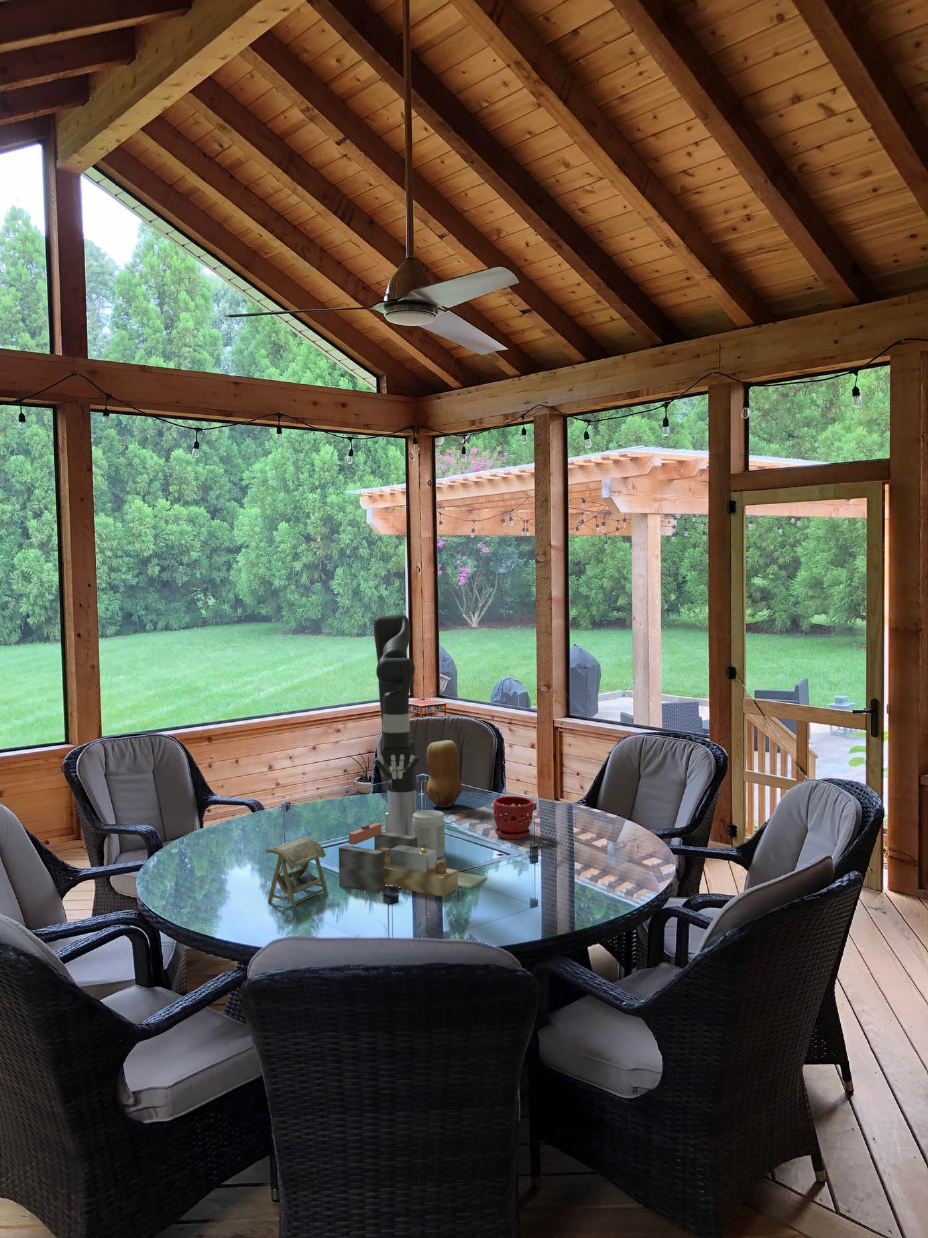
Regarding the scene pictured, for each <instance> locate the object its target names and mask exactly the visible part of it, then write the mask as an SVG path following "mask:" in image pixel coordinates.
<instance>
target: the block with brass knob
mask: <svg viewBox="0 0 928 1238" xmlns="http://www.w3.org/2000/svg"><path fill="white" fill-rule="evenodd" d="M435 861H436V850H429V849H427V848H417V847H410V846H404V845H399V846H396V847H394V848H392V849H390V867H393V868H398V869H404V870H410V871H416V872H422V873H428V872H430V871H432V870H434V869H435Z"/></svg>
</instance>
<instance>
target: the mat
mask: <svg viewBox="0 0 928 1238" xmlns="http://www.w3.org/2000/svg"><path fill="white" fill-rule="evenodd" d="M487 878H488V877H487V876H484V875H478V874H473V873H467V872H461V871H458V888H463V889H469V890H470V889H471V888H474V887H475V886H477V885H479V884H480V883H482V882H484V881H486V880H487Z"/></svg>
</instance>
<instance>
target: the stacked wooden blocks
mask: <svg viewBox="0 0 928 1238" xmlns="http://www.w3.org/2000/svg"><path fill="white" fill-rule="evenodd" d="M373 839H374V841H373V842H374V844H373V845H374V849H373V848H366V847H358V846H355V845H349V844H344V845H342V846H339V847H338V886H339V887H343V888H349V889H354V890H359V891H364V892H365V891H366V892H369V893H375V894H378V893H381V892H382V890H383V889H384V890H385V886H384V885H386V884H387V885H393V886H398V887H400V888H401V889H400V890H404V891H405V890H406V891H411V892H416V893H420V894H428V895H432V896H437V897H445V896H447V895H448V894H450V893H452V892H454V891H456V890H457V889H459V887H458V872H459V870H458V869H453V868H447V861H446V859H445V860H437V861H435V869H434V870H432V871H430V872H428V873H422V872H416V871H410V870H404V869H398V868H393V867H390V849H392V848H394V847H396V846H399V845H404V846H410V847H417V836H410V835H403V834H397V833H390V832H385V831H382V830H381V834H380V835H378V836H375V837H373ZM384 890H383V891H384Z"/></svg>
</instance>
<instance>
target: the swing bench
mask: <svg viewBox="0 0 928 1238" xmlns="http://www.w3.org/2000/svg"><path fill="white" fill-rule="evenodd" d="M265 853H266V854H275V855H277V856H278V857H277V861H276V866H275V870H274V874H273V878H272V882H271V885H270V890H269V894H268V898H267V903H269V904H270V903H271V904H272V902H273V898H274V899H278V900H279V899H280V900H284V901H288V902H290V905H291V908H295V907H297V904H299V903H302V902H303V901H306V900H308V899H310V898H312V897H314V896H316V895H318V894H320V893H324V894H326V893H328V888H327V883H326V881H325V876H324V873H323V869H322V865H321V861H320V858H326V852H325V849H324V848H323V846H322V845H321V844H320V843H319V842H318V841H317V840H315V839H313V838H311V837H308V836H301V837H298V838H297V839H295V840H291V841H289V842H285V843H283V844H281V845H278V846H274V847H272V848H267V849H265ZM312 861H315V865H316V868H317V872H318V875H319V877H317V876H315V875H314V874H312V873H311V872H310V871H308V868H309V865H310V862H312ZM287 867H289V870H290V872H288V868H287ZM297 867H300V868H298V869H296V868H297ZM294 869H296V870H294ZM293 870H294V871H293ZM281 873H283V874H282V875H281ZM277 883H278V885H279V887H280V889H281V891H282V892H283V893H284V894H285V895H288V897H287V896H282V895H278V894H275V890H276V886H277ZM314 886H317V887H321V889H319V890H317V891H315V892H312V893H309V894H308V895H306V896H304V897H302V898H298V899H297V900H295V896H294V895H295V894H297V893H299V892H302V891H305V890H308V889H310V888H312V887H314Z"/></svg>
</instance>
